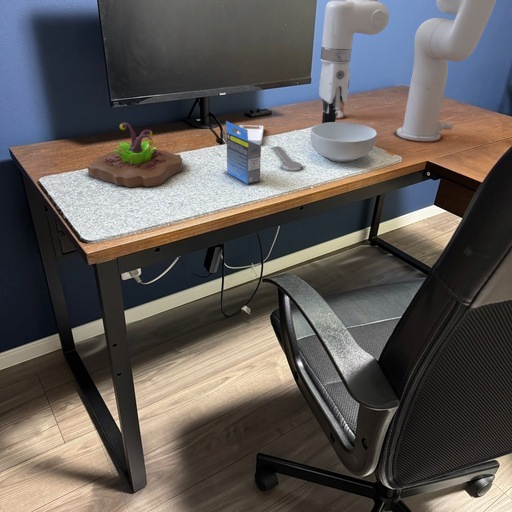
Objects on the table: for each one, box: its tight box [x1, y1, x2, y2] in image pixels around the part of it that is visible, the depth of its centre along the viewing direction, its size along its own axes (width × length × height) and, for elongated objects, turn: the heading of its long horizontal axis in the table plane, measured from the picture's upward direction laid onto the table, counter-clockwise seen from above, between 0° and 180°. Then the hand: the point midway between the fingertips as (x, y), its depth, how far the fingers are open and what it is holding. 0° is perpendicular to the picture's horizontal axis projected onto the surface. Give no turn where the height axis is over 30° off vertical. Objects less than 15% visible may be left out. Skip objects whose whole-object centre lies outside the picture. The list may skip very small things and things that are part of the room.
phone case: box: [236, 124, 265, 146], centre depth 140 cm, size 7×1×15 cm
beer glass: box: [335, 68, 351, 120], centre depth 159 cm, size 7×7×15 cm
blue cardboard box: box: [225, 120, 262, 185], centre depth 110 cm, size 9×4×12 cm, turn 35°
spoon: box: [273, 146, 302, 172], centre depth 125 cm, size 5×17×1 cm, turn 12°
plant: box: [87, 122, 183, 188], centre depth 112 cm, size 20×20×11 cm
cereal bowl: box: [310, 121, 378, 163], centre depth 125 cm, size 17×17×7 cm
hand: (328, 127), depth 133 cm, fingers closed
